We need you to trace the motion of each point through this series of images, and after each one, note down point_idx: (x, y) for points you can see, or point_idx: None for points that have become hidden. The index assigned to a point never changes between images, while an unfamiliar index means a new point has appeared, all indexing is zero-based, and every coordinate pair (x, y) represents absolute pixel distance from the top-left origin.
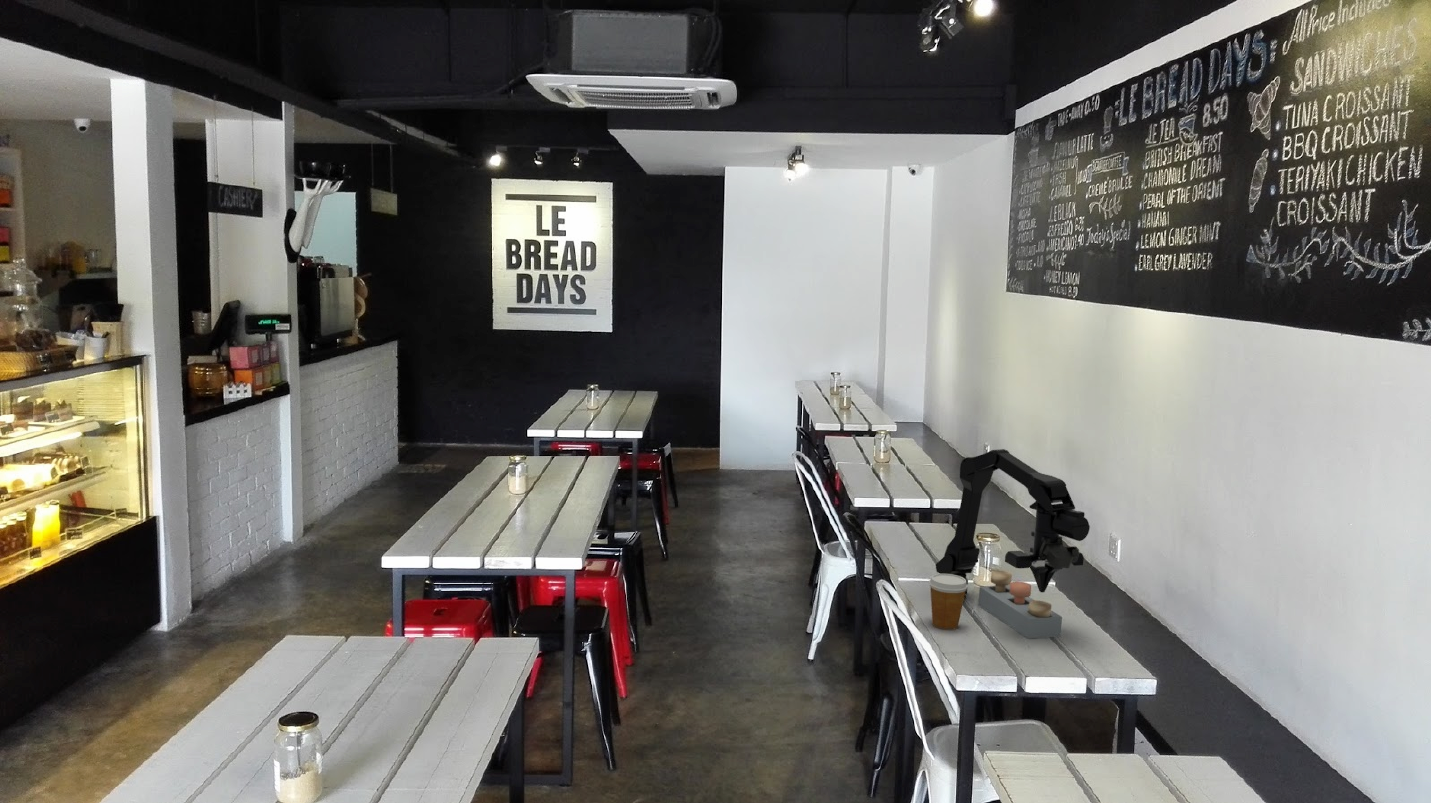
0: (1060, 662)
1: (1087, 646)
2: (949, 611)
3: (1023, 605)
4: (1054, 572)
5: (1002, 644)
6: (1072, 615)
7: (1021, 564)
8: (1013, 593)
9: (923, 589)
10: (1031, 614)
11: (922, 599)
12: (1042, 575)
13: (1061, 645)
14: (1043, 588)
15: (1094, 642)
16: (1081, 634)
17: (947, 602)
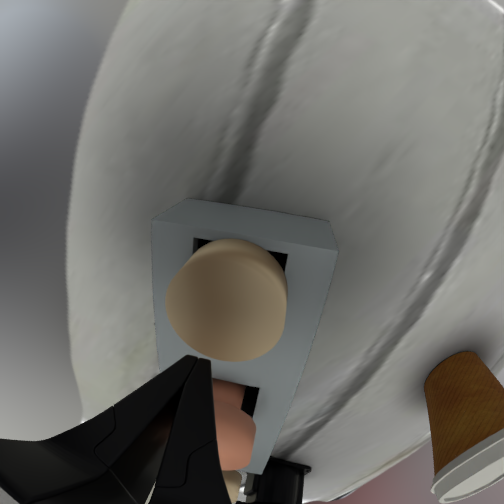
0: (366, 8)
1: (157, 92)
2: (498, 383)
3: (235, 375)
4: (44, 443)
5: (449, 214)
6: (74, 313)
7: None
8: (253, 430)
9: (311, 485)
10: (287, 290)
11: (356, 467)
12: (192, 484)
13: (245, 121)
14: (193, 374)
15: (113, 121)
16: (110, 193)
17: None
